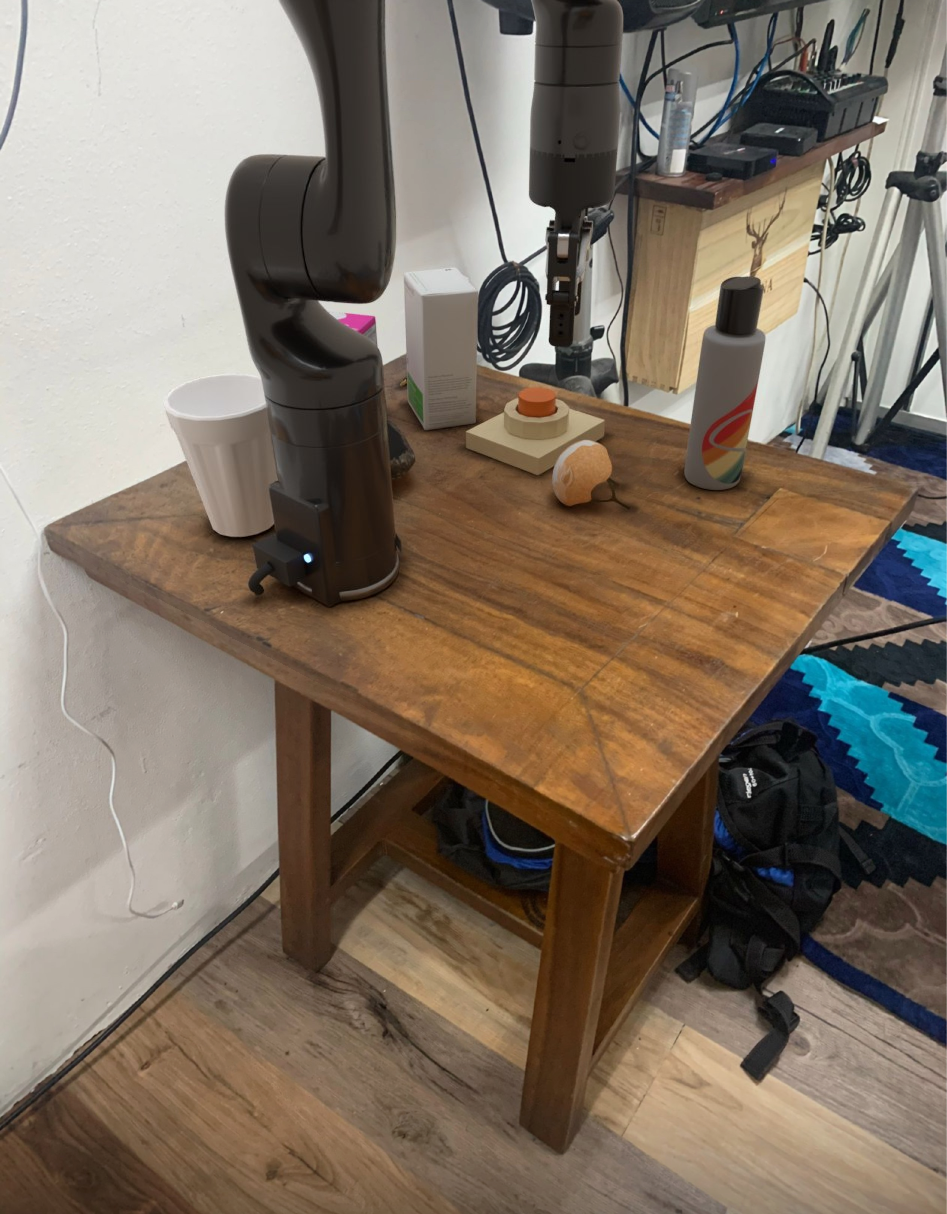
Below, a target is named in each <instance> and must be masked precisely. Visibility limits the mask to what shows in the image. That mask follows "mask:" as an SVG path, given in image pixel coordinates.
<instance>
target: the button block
mask: <svg viewBox="0 0 947 1214" xmlns="http://www.w3.org/2000/svg"><path fill="white" fill-rule="evenodd" d="M605 427H606V419H603V418H600V417H597V416H593V415H592V414H591V415H590V414H587V413H584V412H582V411H578V410H575V409H572V408H570V406H569V405H568V404H566V403H565V401H563V400H562V399H558V398H556V403H555V414H553V415H551V416H548V417H541V418H535V417H526V416H523V415H521V414H519V413H518V397H516V398H514V399H512V400H509V401H508V402H507V403H505V407H504V409H503V412H501V413H499V414H498V415H496V416H495V415H494V417H492V418H490V419H488V420H485V421H484V422H482V423H480V424H478V425H476V426H473V427H472V428H470V429H468V430H466V431H465V448H466V449H467V450H470V451H473V452H475V453H478V454H481V455H484V456H486V457H489V458H492V459H493V460H496V461H499V462H501V463H504V464H507V465H510V466H512V467H515V468H517V469H520V470H523V471H526V472H527V473H530V474H533V475H536V476H540V475H542V474H543V473H544V472H546V471H548V470H550V469H552V468H554V466H555V463H556V461H557V459H558V457H559V456H560V455H561V453H562V452H563V451H564V450H565V449H566V448H568V447H569V446H570V445H572V444H574V443H576V442H578V441H582V440H591V441H595V442H597V441H599V440H601V439H602V438H604V437H605V429H606V428H605Z"/></svg>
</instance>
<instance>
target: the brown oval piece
mask: <svg viewBox="0 0 947 1214" xmlns="http://www.w3.org/2000/svg"><path fill="white" fill-rule="evenodd" d="M612 472H613V464H612V462H611V459H610V457H609V453H608V450H607V448H606V447H605V446H604V445H603V444H601V443H599V442H597V441H591V440H582V441H578V442H576V443H574V444H572V445H570V446H569V447H568V448H566V449H565V450H564V451H563V452H562V453H561V455H560V456H559V457H558V459H557V461H556V463H555V466H553V470H552V474H551V475H552V476H551V485H552V490H553V493H554V495H555V496H556V498H557V499H558V501H559V502H561V504H563V505H564V506H568V507H572V506H574V505H578V504H584V503H590V502H591V503H611V502H612V503H616V504H617V505H620V506H621V507H623V508H625V509H627V510H630V509H631V506H629V505H628V504H625V503H624V502H622V501H620V500H619V499H618V498H617V495H616V491H615V487H617V488H618V487H619V486H620V483H619V482H617V481H615V480H614V479H612V477H610V476H611V475H612ZM604 482H607V484H608V486H609V488H610V490H611V497H610V498H606V499H594V498H592V491H593V490H594V488H595V487H596V486H597V485H599V484H601V483H604ZM614 486H615V487H614Z"/></svg>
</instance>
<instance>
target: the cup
mask: <svg viewBox="0 0 947 1214" xmlns="http://www.w3.org/2000/svg"><path fill="white" fill-rule="evenodd" d="M162 405H163V409H164V412H165V415H166V417H167V420H168V423H169V426H170V428H171V430H172V431H173V432H174V434H175V435H176V438H177V441H178V443H179V445H180V449H181V451H182V453H183V457H184V459H185V461H186V464H187V466H188V469H189V472H190V474H191V476H192V479H193V482H194V485H195V486H196V489H197V493H198V495H199V498H200V499H201V503H202V505H203V508H204V510H205V512H206V514H207V516H208V520H209V522H210V525H211V528H212V530H213V531H215V532H216V533H218V534H219V535H222V536H226V537H229V538H230V537H231V538H238V537H239V538H242V537H249V536H254V535H258V534H261V533H262V532H265V531H267V530H269V529H270V528H271V527H273V525H274V519H273V513H272V507H271V501H270V495H269V485H270V484H271V483H273V482H275V481H278V480H277V473H276V467H275V460H274V454H273V447H272V441H271V434H270V427H269V421H268V415H267V408H266V402H265V396H264V391H263V385H262V380H261V376H260V375H253V374H249V373H248V374H247V373H219V374H213V375H205V376H201V377H198V378H195V379H192V380H188V381H185V382H182V383H180V384H178V385H177V386H175V387H174V388H171V389H170V390H169V391H168V393H167V394H166V395H165V397H164V398H163V400H162Z"/></svg>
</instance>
